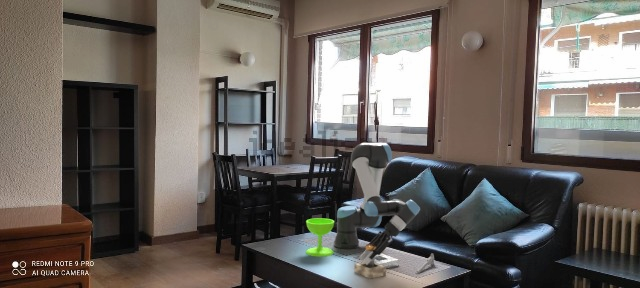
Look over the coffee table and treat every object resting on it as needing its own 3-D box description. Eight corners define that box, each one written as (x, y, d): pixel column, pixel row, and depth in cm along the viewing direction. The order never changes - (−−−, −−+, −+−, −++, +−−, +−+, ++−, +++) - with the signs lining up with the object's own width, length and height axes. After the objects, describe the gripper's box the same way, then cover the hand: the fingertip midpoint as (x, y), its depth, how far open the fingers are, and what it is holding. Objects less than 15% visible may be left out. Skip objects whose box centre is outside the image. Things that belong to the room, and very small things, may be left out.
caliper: (432, 264, 239) (432, 252, 239) (434, 264, 238) (434, 252, 238) (415, 274, 223) (415, 261, 223) (417, 274, 222) (417, 262, 222)
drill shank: (363, 273, 223) (363, 245, 222) (370, 271, 226) (371, 243, 225) (369, 275, 219) (369, 247, 219) (376, 274, 222) (377, 245, 221)
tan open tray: (354, 271, 225) (354, 263, 224) (369, 268, 230) (370, 260, 230) (369, 278, 215) (370, 270, 214) (385, 275, 220) (385, 266, 220)
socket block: (360, 262, 240) (360, 257, 239) (380, 258, 247) (380, 253, 247) (378, 269, 228) (378, 263, 228) (398, 265, 236) (398, 259, 236)
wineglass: (334, 249, 265) (335, 218, 264) (332, 257, 249) (333, 224, 248) (307, 248, 266) (307, 217, 266) (303, 256, 250) (304, 223, 250)
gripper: (407, 235, 216) (374, 272, 213) (392, 227, 234) (361, 260, 231) (397, 225, 215) (364, 261, 212) (383, 217, 233) (352, 251, 229)
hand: (363, 261), depth 221 cm, fingers open, 5 cm apart
